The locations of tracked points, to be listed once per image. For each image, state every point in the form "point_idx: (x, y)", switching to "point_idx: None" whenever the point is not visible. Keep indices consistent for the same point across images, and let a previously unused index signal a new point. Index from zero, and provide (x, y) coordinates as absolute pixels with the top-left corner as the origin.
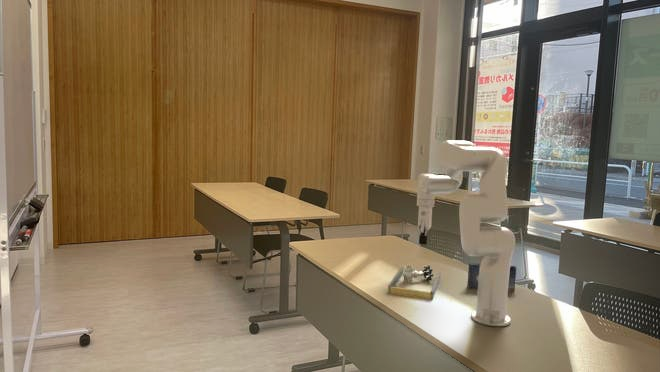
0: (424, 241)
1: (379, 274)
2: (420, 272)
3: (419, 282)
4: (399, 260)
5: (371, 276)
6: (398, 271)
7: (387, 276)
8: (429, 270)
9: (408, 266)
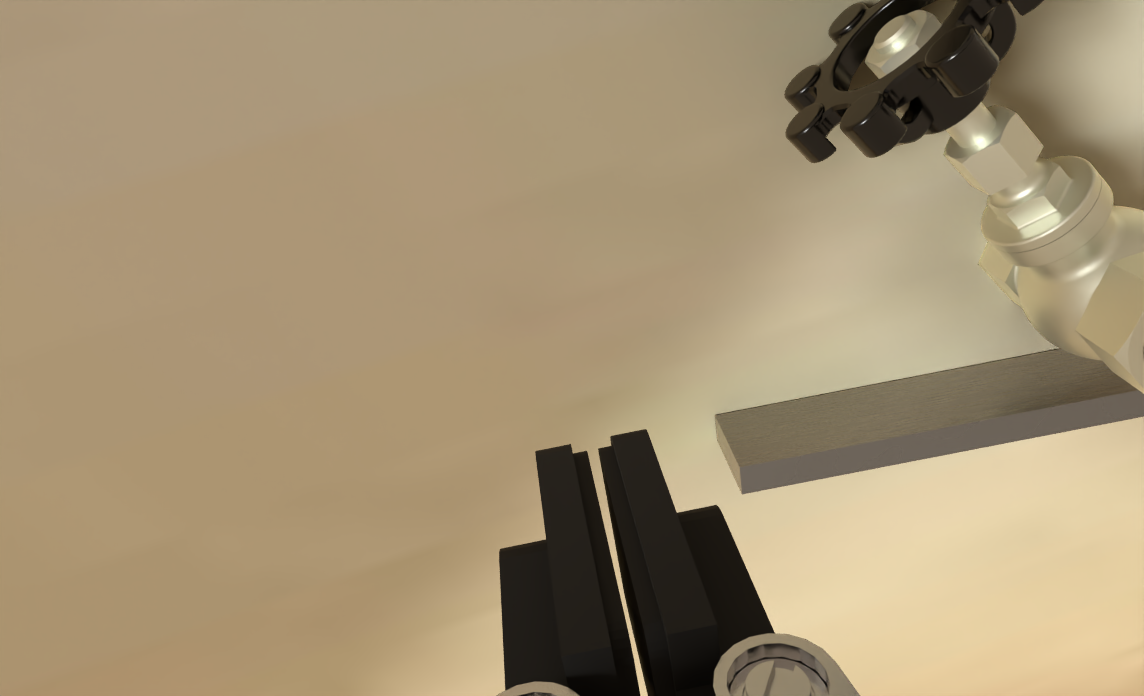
0: (693, 522)
1: (859, 596)
2: (1024, 147)
3: None
4: (115, 660)
5: (968, 623)
6: (974, 443)
7: (896, 510)
8: (986, 13)
9: (1141, 350)
